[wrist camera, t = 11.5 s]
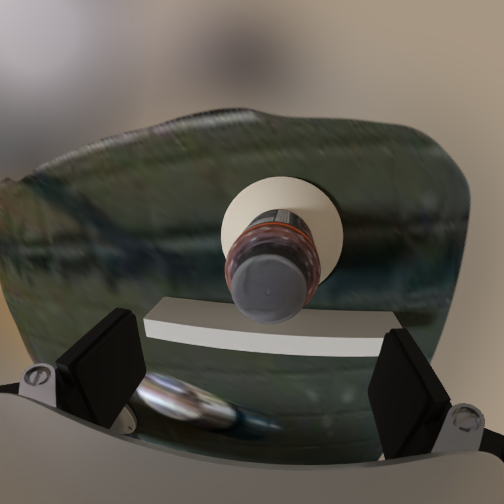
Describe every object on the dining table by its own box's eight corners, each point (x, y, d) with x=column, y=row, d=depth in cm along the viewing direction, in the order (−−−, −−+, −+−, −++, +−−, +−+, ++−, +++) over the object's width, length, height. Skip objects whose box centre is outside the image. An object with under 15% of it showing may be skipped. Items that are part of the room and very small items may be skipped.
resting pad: (335, 296, 26) (335, 298, 26) (222, 289, 28) (221, 291, 27) (346, 180, 23) (347, 181, 23) (222, 175, 25) (221, 175, 24)
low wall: (388, 328, 27) (402, 355, 22) (166, 312, 29) (146, 336, 25) (392, 311, 26) (408, 337, 21) (164, 296, 29) (143, 318, 24)
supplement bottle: (319, 263, 25) (336, 328, 14) (257, 279, 26) (233, 350, 16) (301, 199, 24) (310, 221, 13) (236, 218, 25) (195, 254, 14)
